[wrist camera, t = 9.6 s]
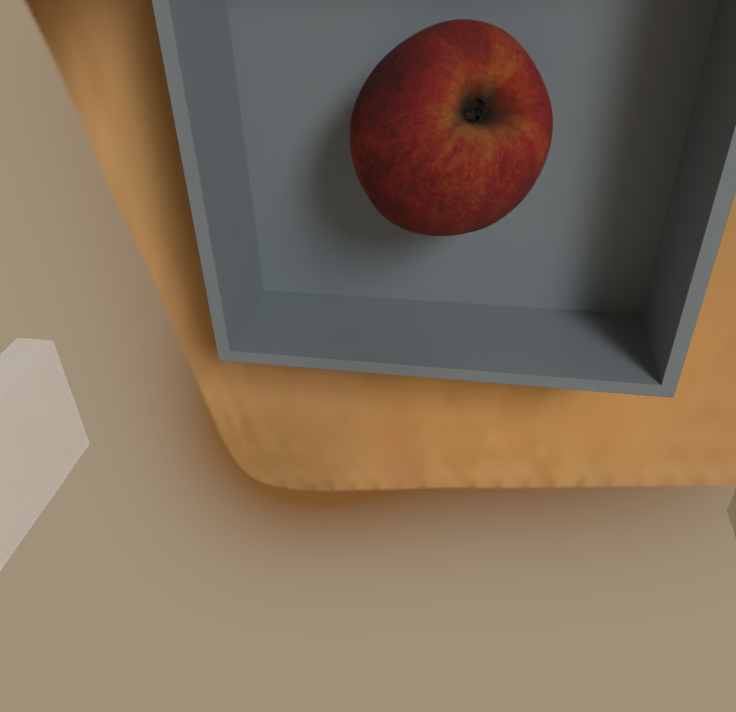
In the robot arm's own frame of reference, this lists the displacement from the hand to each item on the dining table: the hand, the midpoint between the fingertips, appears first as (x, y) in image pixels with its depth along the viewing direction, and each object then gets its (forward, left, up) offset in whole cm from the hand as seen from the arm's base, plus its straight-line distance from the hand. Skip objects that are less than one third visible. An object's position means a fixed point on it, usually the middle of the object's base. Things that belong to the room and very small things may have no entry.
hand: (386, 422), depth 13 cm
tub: (0, 0, -21) cm, 21 cm away
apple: (0, 0, -20) cm, 20 cm away
